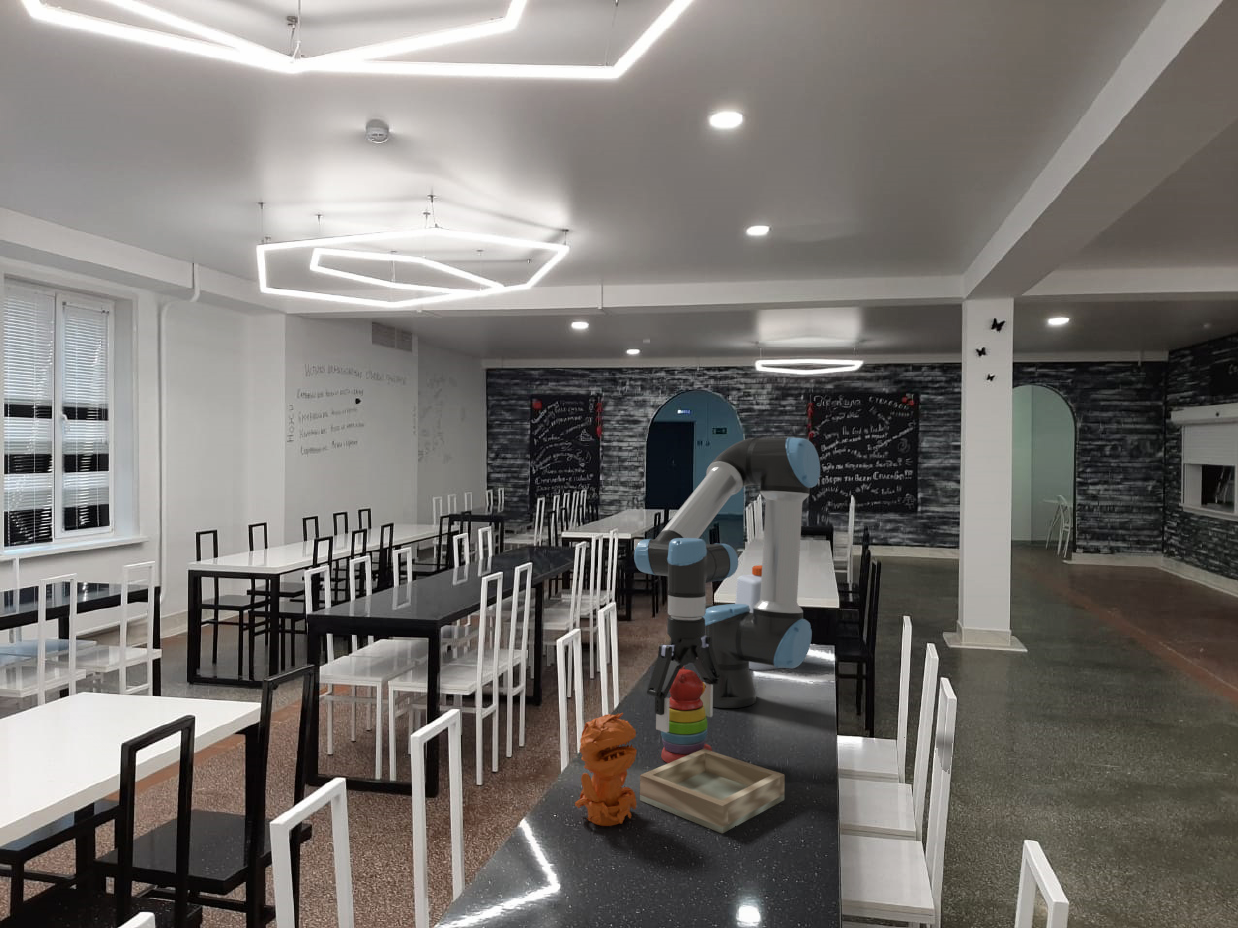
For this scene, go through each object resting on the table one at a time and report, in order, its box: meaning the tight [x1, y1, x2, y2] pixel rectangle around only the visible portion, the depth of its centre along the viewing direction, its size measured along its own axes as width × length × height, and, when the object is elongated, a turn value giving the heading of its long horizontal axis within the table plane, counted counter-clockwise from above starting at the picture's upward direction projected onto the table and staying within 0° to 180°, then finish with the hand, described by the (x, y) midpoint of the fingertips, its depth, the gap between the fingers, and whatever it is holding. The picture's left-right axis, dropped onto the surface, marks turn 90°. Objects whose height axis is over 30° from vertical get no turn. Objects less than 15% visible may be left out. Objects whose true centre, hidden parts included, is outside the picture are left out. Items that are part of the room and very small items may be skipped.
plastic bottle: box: [734, 564, 783, 671], centre depth 239 cm, size 15×15×28 cm
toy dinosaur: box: [574, 712, 638, 827], centre depth 139 cm, size 11×11×18 cm
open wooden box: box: [639, 749, 785, 834], centre depth 147 cm, size 18×18×4 cm
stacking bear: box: [660, 666, 713, 764], centre depth 166 cm, size 11×10×18 cm
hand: (684, 722), depth 166 cm, fingers open, 13 cm apart
